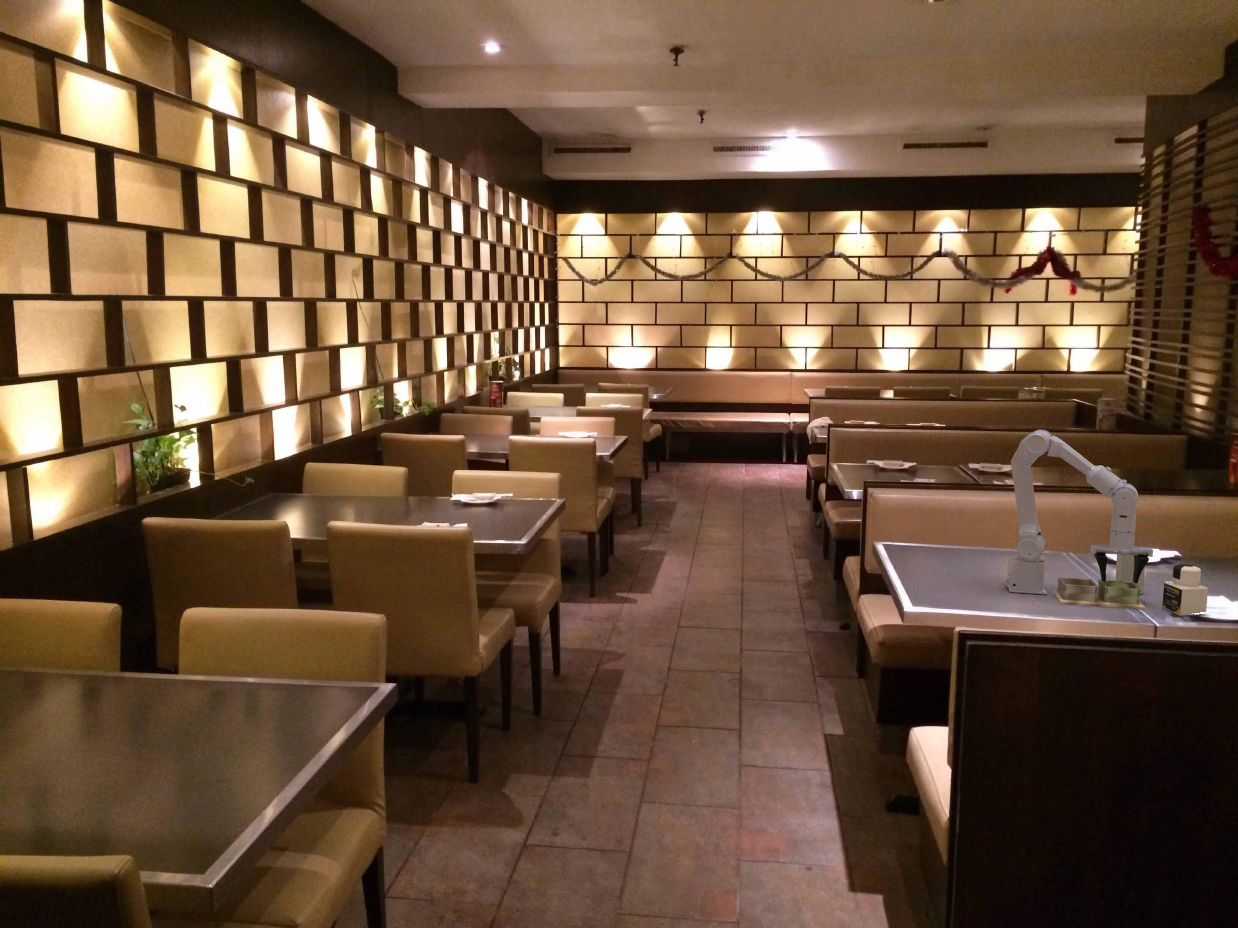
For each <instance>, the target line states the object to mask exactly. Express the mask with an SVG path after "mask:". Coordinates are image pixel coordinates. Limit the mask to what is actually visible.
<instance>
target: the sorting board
mask: <svg viewBox="0 0 1238 928" xmlns="http://www.w3.org/2000/svg"><path fill="white" fill-rule="evenodd" d="M1057 579H1058V580H1057V591H1056V590H1054V591H1053V594H1054V596H1055V598H1056V599H1057V601H1058V602H1059V604H1060V605H1069V606H1070V605H1071V606H1085V607H1086V606H1087V607H1089V606H1090V607H1104V608H1114V609H1115V608H1117V609H1130V610H1131V609H1133V610H1136V609H1137V610H1146V606H1145V605H1144V604H1143V603H1142V601H1140V596H1141V594H1140V589H1139V588H1138V587H1137V586H1136V585H1135V584H1134V583H1133V582H1127V581H1123V582H1125V583H1126V584H1127V585H1128V587H1129V588H1116V587H1109V585H1110V584H1111V583H1112V582H1114V581H1115V580H1110V579H1109V580H1108V579H1106V582H1105V581H1102V580H1101V579H1098V586H1097V584H1096V583H1095V582H1094V580H1093V579H1092V578H1091V579H1090V578H1075V577H1074V578H1073V577H1061V576H1060V577H1058V578H1057Z"/></svg>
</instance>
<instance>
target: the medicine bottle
mask: <svg viewBox="0 0 1238 928" xmlns="http://www.w3.org/2000/svg"><path fill="white" fill-rule="evenodd" d="M1201 572H1202V570H1201V568H1200V567H1199V566H1197V565H1193V564H1187V563H1179V564H1175V565H1174V566H1173V570H1172V580H1169V581H1164V582H1163V595H1162V605H1161V606H1162V609H1164V610H1166V611H1168V612H1171V613H1173V614H1175V615H1177V616H1179V617H1181V616H1183V617H1184V616H1191V615H1190V614H1192V613H1193V614H1194V613H1200V612H1206V613H1207V608H1208V607H1207V606H1208V605H1207V604H1208V597H1209V596H1208V594H1209V588H1208V587H1206V586H1204V585H1202V584H1200V583H1201V574H1202V573H1201Z"/></svg>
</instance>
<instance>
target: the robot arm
mask: <svg viewBox="0 0 1238 928" xmlns="http://www.w3.org/2000/svg"><path fill="white" fill-rule="evenodd" d="M1046 452H1048V453H1047V456H1048V457H1053V458H1054V457H1056V458H1060V459H1062V460H1063V461H1065V462H1066V463H1068V464H1069V465H1071V466H1072V467H1074V468H1075V469H1076V470H1078V471H1079V472H1081V473H1083V474H1084V476H1085V477H1086V482H1087V484H1089V485H1090V486H1092V487H1093V488H1094V489H1095V490H1097V491H1098V492H1100V493H1101V494H1102V495H1103V496H1105V497H1106V498H1110V499H1111V502H1112V504H1113V506H1112V507H1113V508H1112V512H1111V521H1110V522H1111V523H1110V531H1109V533H1110V534H1109V544H1098V545H1097V544H1091V545H1090V550H1089V551H1090V553H1091V555H1093V556H1094V557H1095V559H1096V563H1097V565H1098V568H1099V572H1100V580H1102V581H1105V582H1106V580H1107V566H1108V559H1109V558H1108V557H1107V555H1117V554H1119V555H1134V573H1133V582H1134V583H1138V580H1139V577H1140V575H1141V572H1142V570H1143V569H1144V567H1145V568H1146V565H1147V564H1149V563H1148V562H1149V560H1150V557H1151V558H1153V557H1154V549H1153V548H1152V547H1141V546H1135V540H1136V538H1135V537H1136V528H1137V527H1136V525H1137V513H1136V512H1137V503H1138V500H1139V499H1138V498H1139V493H1138V490H1137V489H1136V487H1135V486H1134V485H1133V484H1131V483H1127V482H1128V481H1127V480H1126V479H1121V478H1120V477H1118V476H1117V475H1116V474H1115V473H1113V472H1112V468H1111V467H1109V466H1106V467H1105V466H1104V465H1094V464H1093V463H1092V462H1090V461H1089V460H1088V459H1087V458H1085V457H1084V456H1083V455H1081V454H1080V453H1079V452H1077V451H1076V450H1075V449H1074V448H1072V447H1071V446H1070V445H1069V444H1068V443H1066V442H1065V441H1064V440H1062V439H1060V437H1057V436H1055V435H1052V434H1051V432H1050V431H1048V430H1045V429H1037V430H1034V431H1032V432H1030V433H1029V434H1028V435H1027V436H1025V437H1024V438H1023V439H1022V440H1021V441H1020V442H1019V444H1018V447H1017V449H1016V451H1015V453H1014V454H1013V456H1012V458H1011V460H1010V468H1011V474H1012V475H1011V476H1012V481H1013V487H1014V495H1015V504H1016V510H1017V517H1018V526H1019V527H1018V543H1017V546H1016V550H1017V551H1016V552H1017V555H1016V557H1008V561H1007V569H1006V570H1007V572H1006V587H1007V589H1008V591H1009V593H1020V594H1037V595H1047V594H1048V592H1047V590H1046V589H1045V587H1044V586H1045V570H1046V557H1045V556H1044V553H1043V552H1044V551H1045V549H1046V547H1047V540H1046V538H1045V537H1044V535H1043V533H1042V531H1041V526H1040V525H1041V524H1040V523H1039V517H1038V510H1037V504H1036V497H1035V489H1034V483H1033V475H1032V468H1031V466H1032V465H1033V464H1034V463H1035V461H1036V460H1037V459H1038V458H1039V457H1041V456H1042V455H1044V454H1045V453H1046Z"/></svg>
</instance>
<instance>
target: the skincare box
mask: <svg viewBox="0 0 1238 928" xmlns="http://www.w3.org/2000/svg"><path fill="white" fill-rule="evenodd" d="M1115 567H1116V568H1115V581H1127V582H1133V573H1134V555H1119V554H1116V566H1115ZM1145 569H1146V566H1145V567H1144V569H1143V570H1142V572H1141V575H1140V577H1139V580H1138V583H1134V582H1133V583H1134V584H1135V585H1136V586H1137V587H1138V588H1139V589H1140V595H1144V589H1145V588H1144V587H1145V572H1146V570H1145Z"/></svg>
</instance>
